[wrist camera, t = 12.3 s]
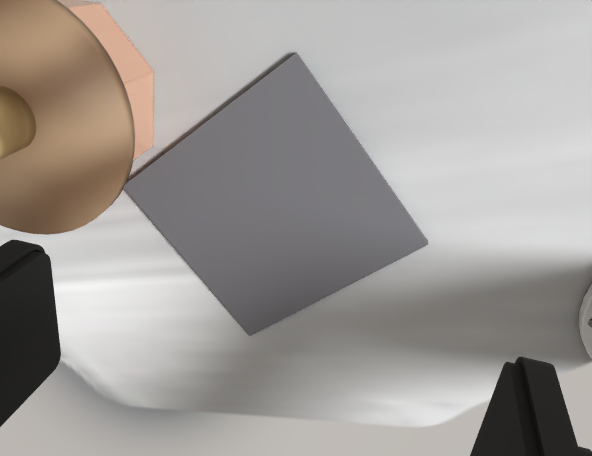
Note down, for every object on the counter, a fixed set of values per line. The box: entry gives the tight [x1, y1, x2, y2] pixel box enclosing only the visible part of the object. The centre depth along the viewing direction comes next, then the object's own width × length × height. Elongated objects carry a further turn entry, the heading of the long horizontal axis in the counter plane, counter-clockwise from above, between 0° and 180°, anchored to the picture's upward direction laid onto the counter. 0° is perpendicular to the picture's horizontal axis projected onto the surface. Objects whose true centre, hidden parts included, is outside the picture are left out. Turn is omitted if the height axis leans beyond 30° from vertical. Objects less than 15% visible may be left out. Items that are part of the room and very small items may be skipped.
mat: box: [124, 53, 428, 336], centre depth 40 cm, size 16×17×1 cm
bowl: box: [57, 0, 154, 161], centre depth 37 cm, size 13×13×6 cm
